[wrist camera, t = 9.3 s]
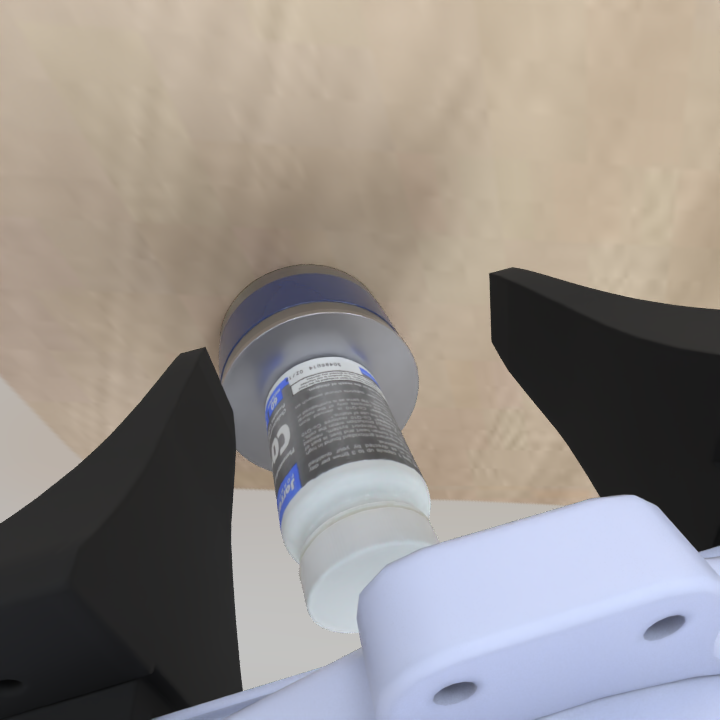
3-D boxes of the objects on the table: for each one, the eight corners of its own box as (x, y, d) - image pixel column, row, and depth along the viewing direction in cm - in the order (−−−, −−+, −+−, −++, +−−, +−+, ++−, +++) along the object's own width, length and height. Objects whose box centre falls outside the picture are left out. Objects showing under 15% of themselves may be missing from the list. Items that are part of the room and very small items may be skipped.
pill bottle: (249, 371, 18) (272, 568, 11) (371, 340, 19) (461, 509, 12) (278, 459, 21) (310, 662, 14) (384, 430, 22) (463, 611, 15)
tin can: (296, 433, 27) (311, 502, 23) (178, 342, 22) (171, 409, 18) (414, 340, 26) (453, 397, 22) (314, 224, 21) (339, 268, 17)
